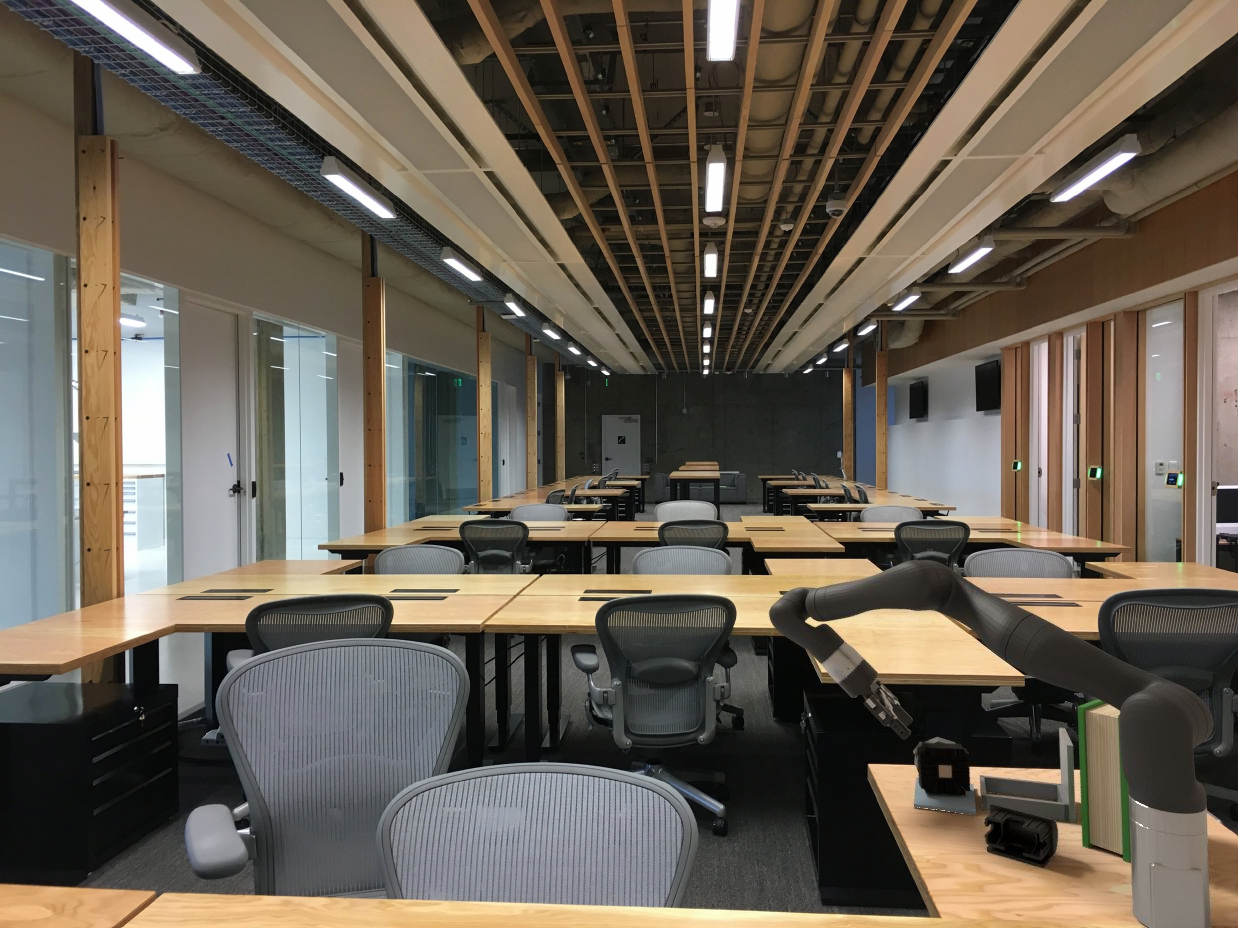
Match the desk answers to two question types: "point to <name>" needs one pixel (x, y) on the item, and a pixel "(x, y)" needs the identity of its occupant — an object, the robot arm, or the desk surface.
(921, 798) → the rubber mat
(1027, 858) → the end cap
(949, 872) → the desk surface
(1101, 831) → the hardback book
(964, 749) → the cpu cooler
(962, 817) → the desk surface
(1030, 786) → the open rectangular frame
